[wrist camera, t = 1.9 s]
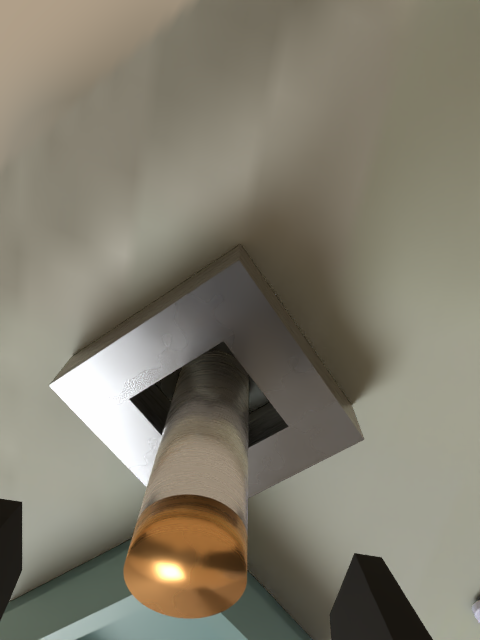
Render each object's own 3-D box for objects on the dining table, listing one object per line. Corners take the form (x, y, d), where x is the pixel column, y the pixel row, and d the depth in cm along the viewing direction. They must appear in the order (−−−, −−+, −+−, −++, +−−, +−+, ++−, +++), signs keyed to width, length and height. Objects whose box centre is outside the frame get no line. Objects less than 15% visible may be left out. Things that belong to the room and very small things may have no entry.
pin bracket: (240, 243, 15) (238, 260, 13) (352, 406, 17) (364, 439, 15) (71, 356, 17) (48, 385, 15) (193, 490, 19) (187, 528, 17)
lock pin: (222, 337, 16) (198, 512, 9) (262, 390, 17) (270, 590, 10) (164, 373, 17) (97, 564, 9) (206, 422, 18) (174, 633, 10)
